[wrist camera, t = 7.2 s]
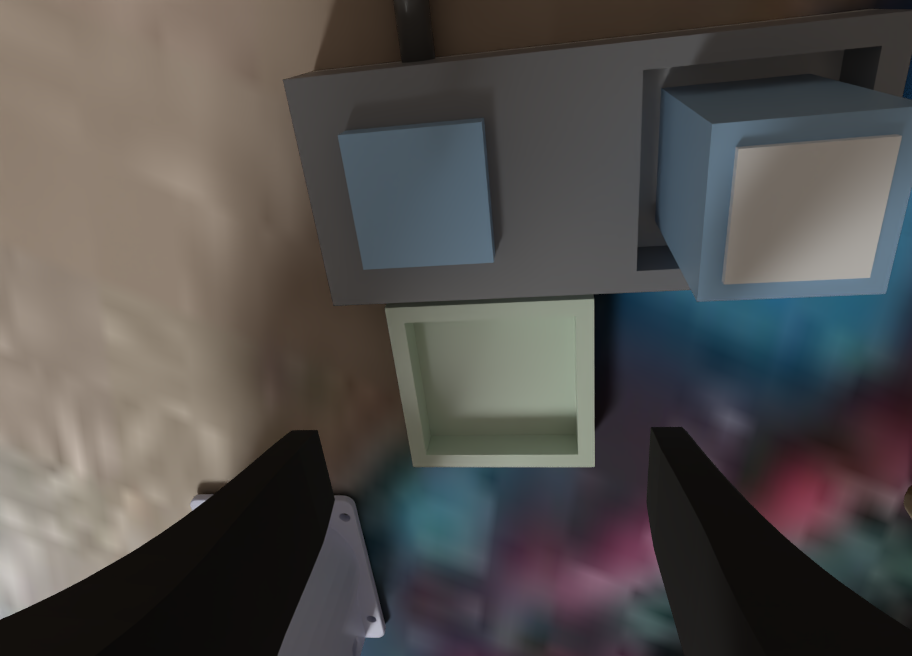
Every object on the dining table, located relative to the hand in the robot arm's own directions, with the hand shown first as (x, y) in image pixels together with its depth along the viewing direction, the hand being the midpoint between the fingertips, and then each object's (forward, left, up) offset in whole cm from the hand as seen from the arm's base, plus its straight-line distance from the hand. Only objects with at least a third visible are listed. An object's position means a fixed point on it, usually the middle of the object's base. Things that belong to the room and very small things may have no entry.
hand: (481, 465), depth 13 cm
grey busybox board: (+7, -3, -10) cm, 12 cm away
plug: (+4, -7, -9) cm, 12 cm away
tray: (-3, 0, -10) cm, 10 cm away
